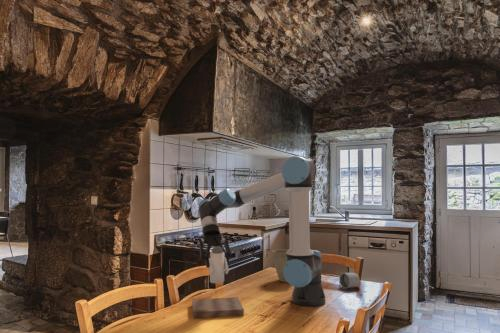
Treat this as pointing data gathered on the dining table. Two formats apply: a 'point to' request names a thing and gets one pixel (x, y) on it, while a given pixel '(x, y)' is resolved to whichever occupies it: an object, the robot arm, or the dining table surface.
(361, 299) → the dining table surface
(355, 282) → the ceramic mug
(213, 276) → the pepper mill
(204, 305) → the walnut board
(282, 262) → the plant pot
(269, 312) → the dining table surface
